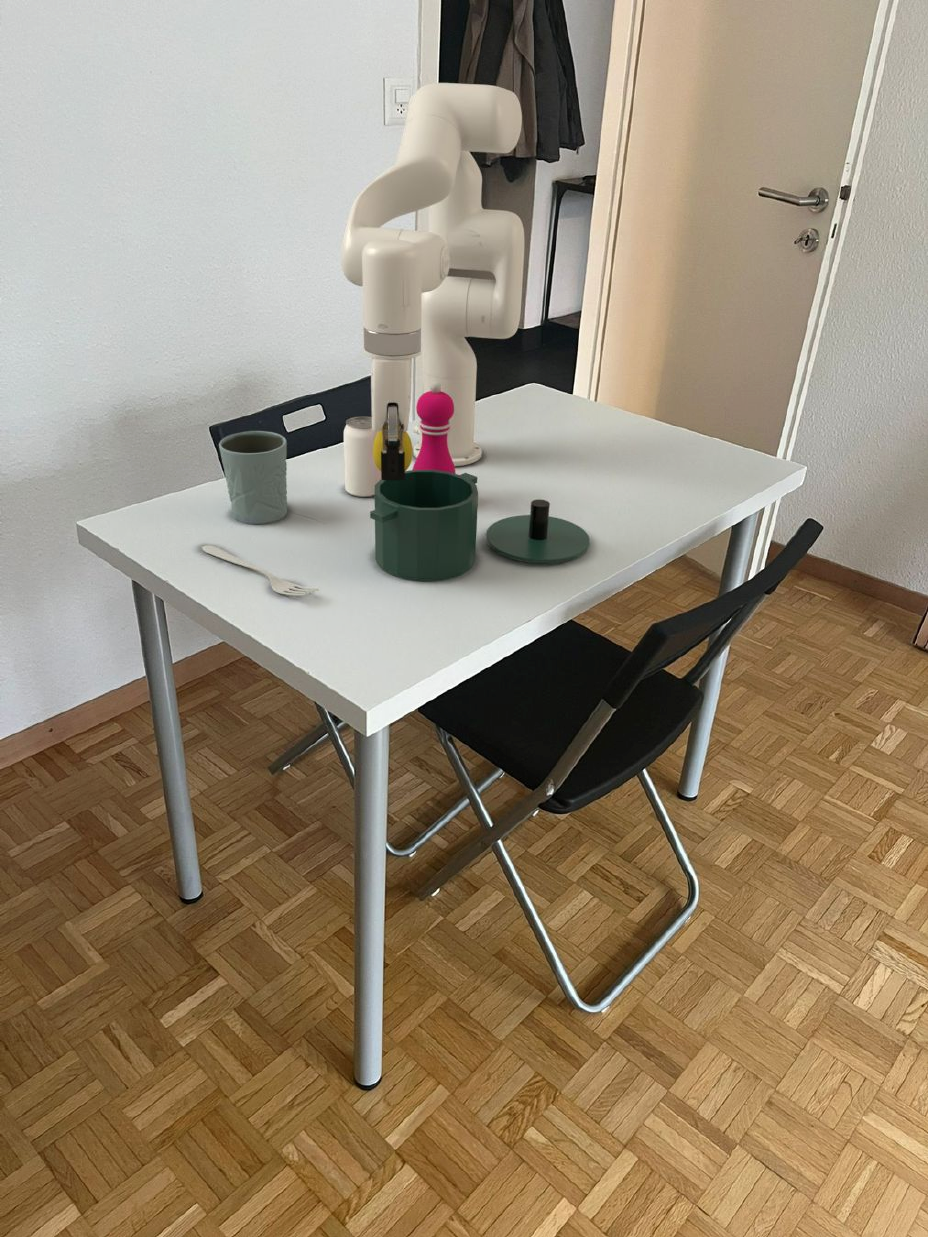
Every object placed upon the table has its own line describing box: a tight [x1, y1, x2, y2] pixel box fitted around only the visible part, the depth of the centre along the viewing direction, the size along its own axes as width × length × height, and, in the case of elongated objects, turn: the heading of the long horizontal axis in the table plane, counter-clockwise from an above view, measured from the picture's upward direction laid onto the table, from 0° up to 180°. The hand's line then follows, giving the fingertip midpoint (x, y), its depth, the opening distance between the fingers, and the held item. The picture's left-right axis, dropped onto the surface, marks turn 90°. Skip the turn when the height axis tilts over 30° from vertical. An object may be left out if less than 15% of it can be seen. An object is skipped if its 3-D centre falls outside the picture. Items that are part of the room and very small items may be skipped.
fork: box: [201, 544, 320, 597], centre depth 138 cm, size 3×24×2 cm, turn 49°
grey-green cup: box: [218, 430, 288, 525], centre depth 153 cm, size 10×10×12 cm
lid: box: [485, 498, 590, 564], centre depth 148 cm, size 16×16×7 cm
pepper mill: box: [412, 382, 457, 474], centre depth 157 cm, size 7×7×20 cm
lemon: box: [373, 426, 414, 471], centre depth 135 cm, size 6×6×8 cm
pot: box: [369, 469, 479, 582], centre depth 141 cm, size 15×20×11 cm
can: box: [343, 416, 381, 498], centre depth 162 cm, size 6×6×12 cm
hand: (392, 469), depth 137 cm, fingers closed on lemon, 5 cm apart
